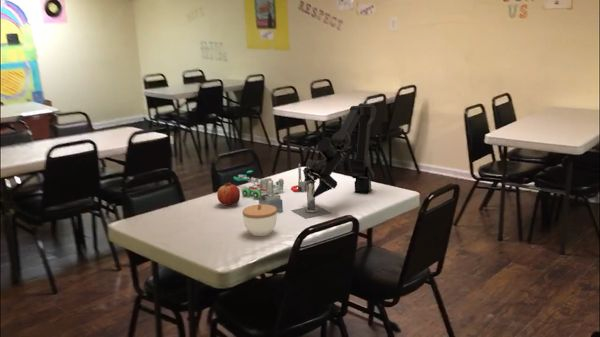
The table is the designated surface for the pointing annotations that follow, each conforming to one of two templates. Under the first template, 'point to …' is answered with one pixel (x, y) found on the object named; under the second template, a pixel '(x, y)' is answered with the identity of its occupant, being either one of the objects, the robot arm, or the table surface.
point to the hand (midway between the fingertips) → (307, 194)
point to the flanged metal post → (309, 196)
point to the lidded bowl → (260, 219)
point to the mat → (308, 215)
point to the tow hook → (298, 183)
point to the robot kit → (257, 185)
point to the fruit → (228, 194)
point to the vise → (270, 195)
